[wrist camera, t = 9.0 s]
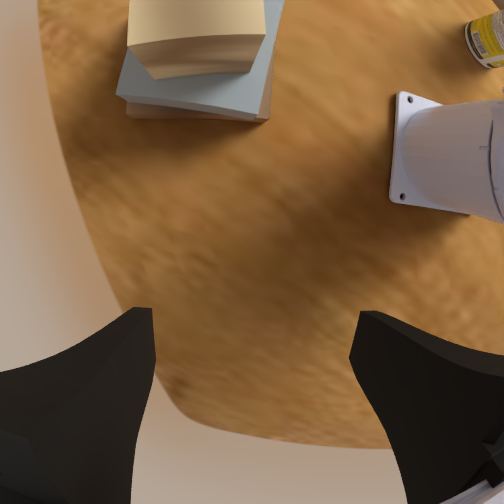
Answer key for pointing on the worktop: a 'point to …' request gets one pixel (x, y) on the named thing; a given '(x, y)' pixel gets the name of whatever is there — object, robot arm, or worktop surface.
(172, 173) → the worktop surface
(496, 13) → the supplement bottle
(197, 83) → the slate slab
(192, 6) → the oak block
